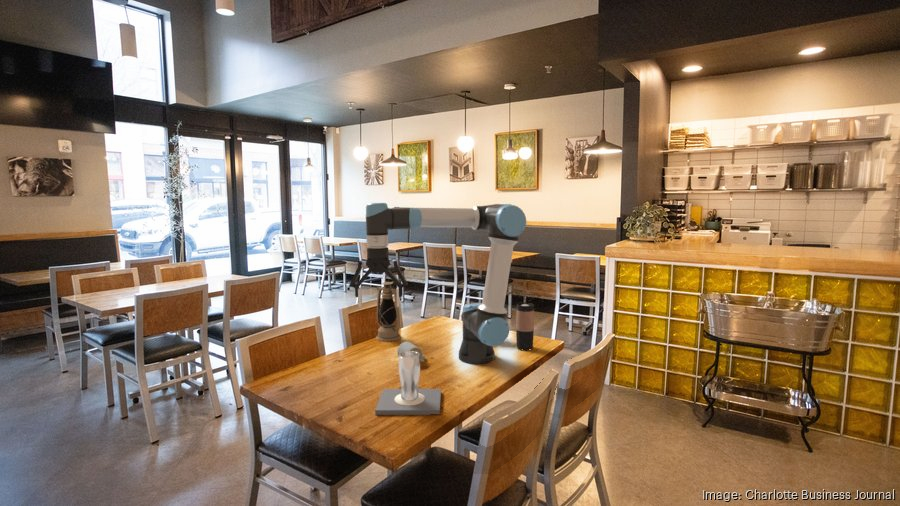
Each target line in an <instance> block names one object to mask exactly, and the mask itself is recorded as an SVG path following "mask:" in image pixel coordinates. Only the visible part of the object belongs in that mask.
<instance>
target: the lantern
mask: <svg viewBox="0 0 900 506" xmlns="http://www.w3.org/2000/svg"><path fill="white" fill-rule="evenodd" d="M387 278H388V281H387V280H386V279H387ZM389 279H390V277H389V276H388V275H386V276H385V282H381V285H383V286H376V291H377V300H376V301H377V302H376V324H377V325H378V327H379V328H378V329H377V335H376V337H375V339H376V341H380V342H385V343H386V342H388V343H389V342H395V340H396V341H398V339H399V340H401V338H402V336H401V334H400V332H399V329H400V328H401V323H400V322H401V318H400V306H399V307H397V293H396V288H393V286H392V285H393V284H394V282H392V281H391V282H390V281H389ZM393 295H394V298H393ZM381 296H382V301H381Z"/></svg>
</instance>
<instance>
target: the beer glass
mask: <svg viewBox="0 0 900 506" xmlns="http://www.w3.org/2000/svg"><path fill="white" fill-rule="evenodd" d="M420 374H421V359H420V358H419V353H418V352H416V351H404V352H401V353H400V354H399V356H398V375H399V380H400V386H401V387H400V388H401V389H402V391H401V397H400V398H401V400H402V401H404V402H414V401H417V400H418V399H419V394H418V389H419V386H418V385H419V380H420Z"/></svg>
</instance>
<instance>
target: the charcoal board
mask: <svg viewBox="0 0 900 506" xmlns="http://www.w3.org/2000/svg"><path fill="white" fill-rule="evenodd" d="M401 391H402V388H383V389H382V391H381V393H380V396H379V399H378V401H377V405H376V408H375V410H374V411H375V412H374V414H375V416H377V415H378V416H383V415H384V416H385V415H386V416H391V415H392V416H394V415H396V416H409V415H411V416H414V415H415V416H416V415H417V416H421V415H423V416H427V415H428V416H429V415H430V414H440V413H441V397H442V389H441V388H418V394H419V399H418V400H417V401H414V402H404V401H402V400H401V398H400V397H401ZM430 416H431V415H430Z"/></svg>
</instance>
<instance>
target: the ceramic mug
mask: <svg viewBox="0 0 900 506" xmlns="http://www.w3.org/2000/svg"><path fill="white" fill-rule="evenodd" d="M404 351H416V352H418V353H419V358H420V360H423V361H425V358H426V355H425V354H423V353H422V350H421V349H420V347H418V346H416V345H415V344H413V343H412V342H411V341H404V342H402V343H400V344H399V346H398V347H397V356H398V357H399V354H400V353H401V352H404Z"/></svg>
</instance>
